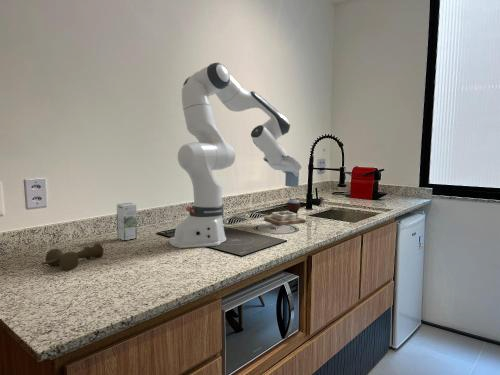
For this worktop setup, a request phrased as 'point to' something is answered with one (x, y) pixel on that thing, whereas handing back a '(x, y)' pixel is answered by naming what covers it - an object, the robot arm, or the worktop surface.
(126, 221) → the syrup box
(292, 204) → the mate gourd
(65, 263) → the kendama
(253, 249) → the worktop surface
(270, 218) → the walnut base board
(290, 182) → the slate block
